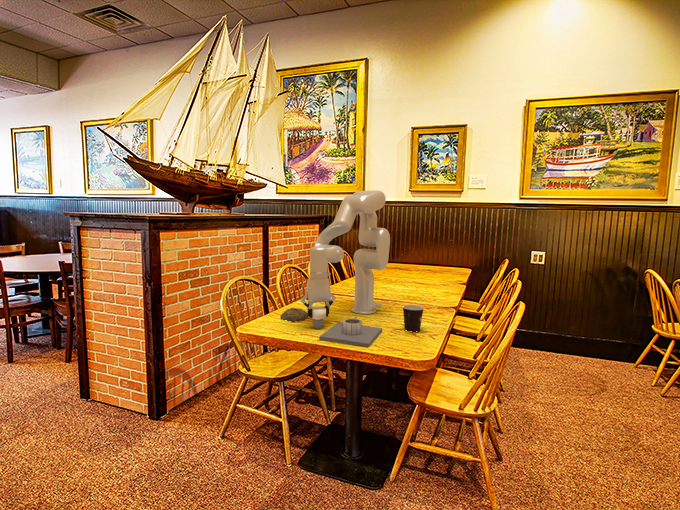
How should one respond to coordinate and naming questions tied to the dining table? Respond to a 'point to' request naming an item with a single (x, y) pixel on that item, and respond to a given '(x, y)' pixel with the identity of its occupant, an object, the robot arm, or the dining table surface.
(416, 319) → the coffee mug
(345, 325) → the square plate with socket
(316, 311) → the plug
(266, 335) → the dining table surface
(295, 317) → the seeded bread roll
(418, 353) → the dining table surface
